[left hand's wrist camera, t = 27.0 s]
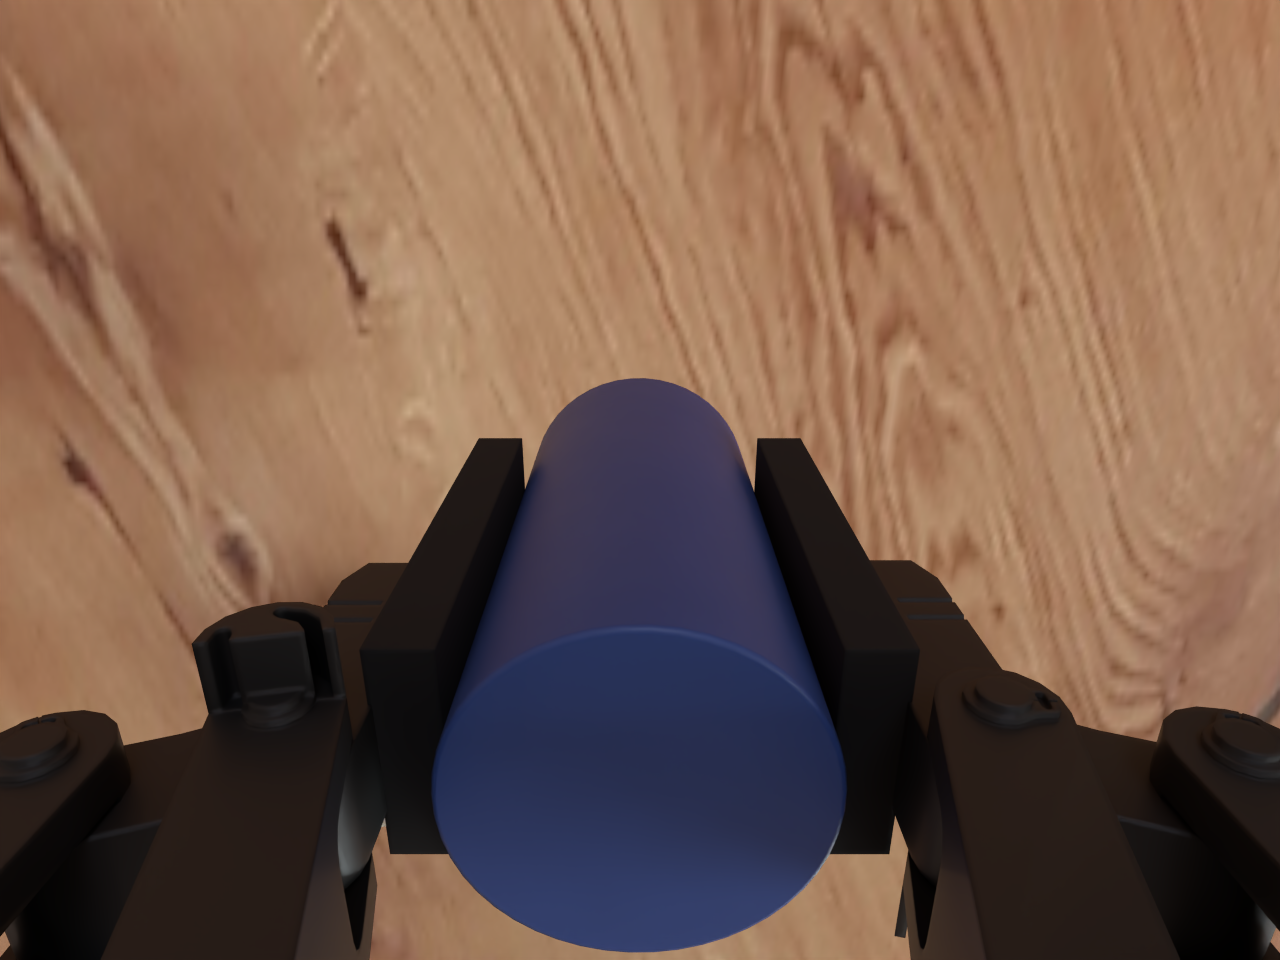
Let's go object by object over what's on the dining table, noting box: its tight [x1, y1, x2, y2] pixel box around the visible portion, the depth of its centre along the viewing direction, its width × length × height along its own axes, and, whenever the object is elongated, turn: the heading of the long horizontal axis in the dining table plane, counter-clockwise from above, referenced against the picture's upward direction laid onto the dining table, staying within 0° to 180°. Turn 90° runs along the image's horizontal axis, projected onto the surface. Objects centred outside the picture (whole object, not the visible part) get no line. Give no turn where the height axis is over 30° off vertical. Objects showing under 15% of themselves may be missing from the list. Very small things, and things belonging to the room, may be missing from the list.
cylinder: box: [431, 378, 847, 952], centre depth 12 cm, size 4×4×9 cm
